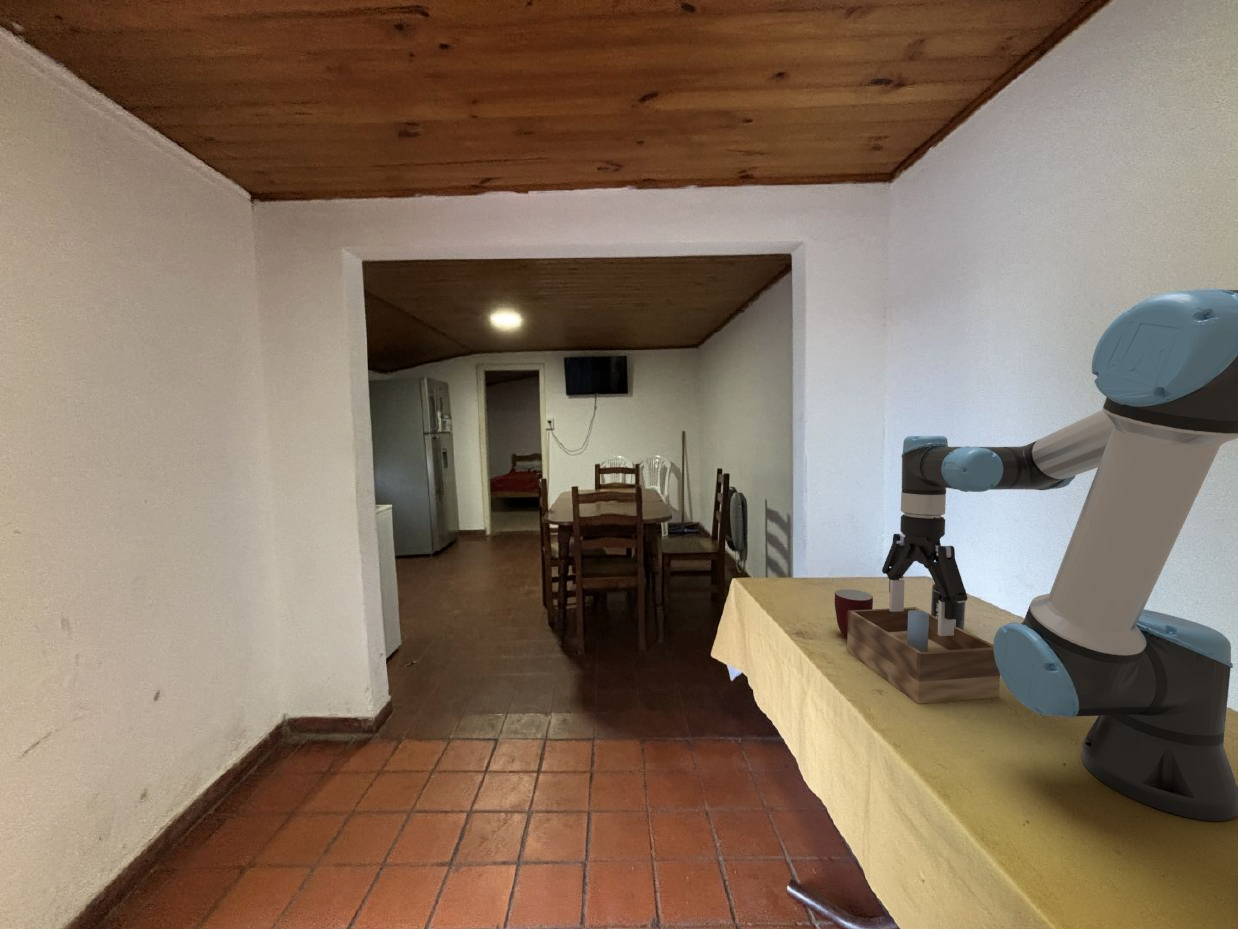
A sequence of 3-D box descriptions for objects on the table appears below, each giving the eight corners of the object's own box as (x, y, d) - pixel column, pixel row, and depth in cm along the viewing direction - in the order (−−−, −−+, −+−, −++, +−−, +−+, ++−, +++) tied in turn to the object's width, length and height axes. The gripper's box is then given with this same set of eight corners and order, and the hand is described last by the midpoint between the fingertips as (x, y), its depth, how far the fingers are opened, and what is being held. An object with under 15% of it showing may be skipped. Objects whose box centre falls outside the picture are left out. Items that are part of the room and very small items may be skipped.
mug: (872, 650, 115) (874, 606, 114) (832, 644, 118) (834, 600, 117) (870, 633, 124) (872, 591, 123) (833, 628, 127) (835, 587, 127)
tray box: (998, 697, 95) (1001, 648, 94) (918, 704, 93) (920, 654, 92) (913, 646, 117) (915, 607, 116) (846, 651, 114) (848, 610, 114)
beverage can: (928, 624, 130) (930, 576, 129) (961, 628, 127) (963, 579, 126) (931, 633, 124) (934, 583, 123) (966, 638, 121) (968, 587, 120)
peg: (914, 677, 103) (916, 617, 102) (901, 668, 106) (904, 610, 105) (930, 675, 103) (933, 616, 102) (917, 667, 107) (920, 609, 106)
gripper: (994, 525, 91) (989, 646, 92) (897, 506, 115) (894, 601, 116) (955, 526, 89) (951, 648, 91) (865, 506, 114) (863, 603, 115)
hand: (919, 622), depth 103 cm, fingers open, 13 cm apart
